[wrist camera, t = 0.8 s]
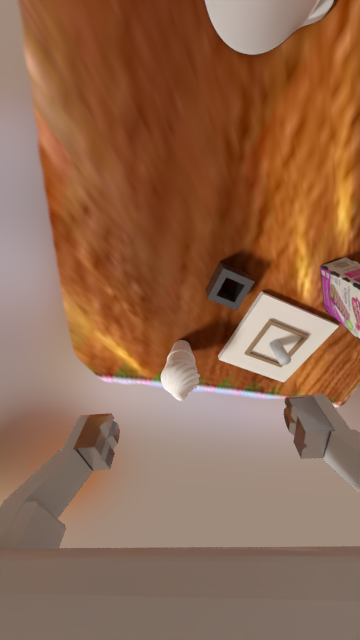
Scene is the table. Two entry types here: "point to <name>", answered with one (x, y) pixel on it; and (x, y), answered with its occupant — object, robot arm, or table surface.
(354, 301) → the candy bar box
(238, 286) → the grey square tube
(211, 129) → the table surface
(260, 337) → the post board
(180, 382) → the soft serve ice cream cone
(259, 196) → the table surface
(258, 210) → the table surface
